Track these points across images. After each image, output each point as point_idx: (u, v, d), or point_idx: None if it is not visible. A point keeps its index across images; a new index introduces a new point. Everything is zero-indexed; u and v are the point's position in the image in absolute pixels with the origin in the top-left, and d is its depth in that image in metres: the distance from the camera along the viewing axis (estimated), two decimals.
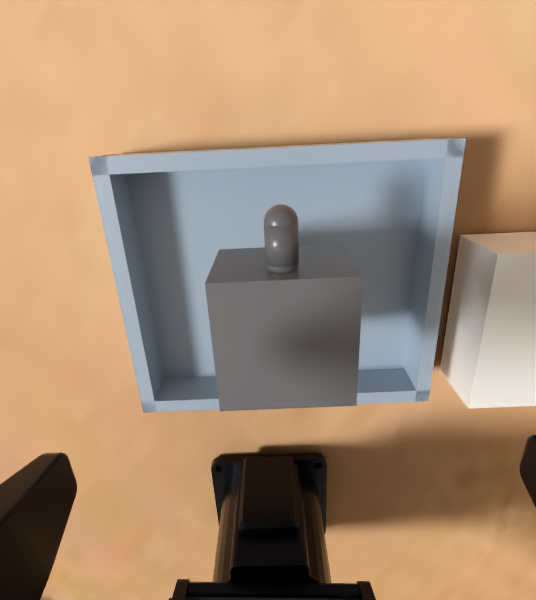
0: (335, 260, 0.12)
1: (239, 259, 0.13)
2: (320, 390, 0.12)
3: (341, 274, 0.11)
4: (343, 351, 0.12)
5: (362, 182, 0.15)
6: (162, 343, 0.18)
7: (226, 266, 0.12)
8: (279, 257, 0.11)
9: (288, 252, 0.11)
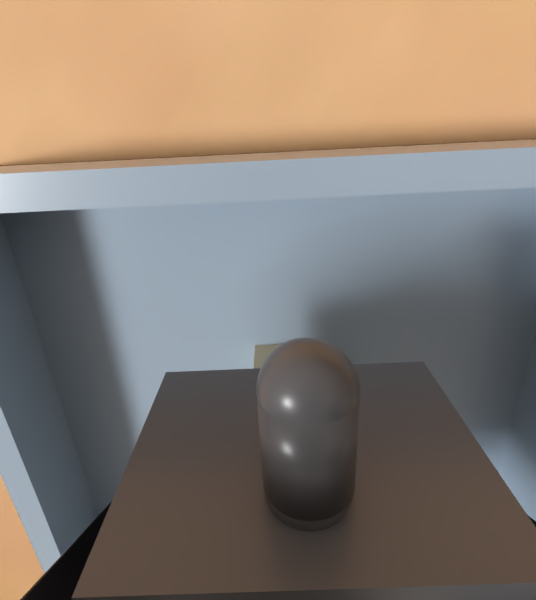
0: (439, 448, 0.05)
1: (201, 425, 0.05)
2: None
3: (490, 553, 0.04)
4: None
5: (448, 221, 0.08)
6: (93, 478, 0.11)
7: (163, 465, 0.05)
8: (303, 497, 0.04)
9: (331, 484, 0.04)
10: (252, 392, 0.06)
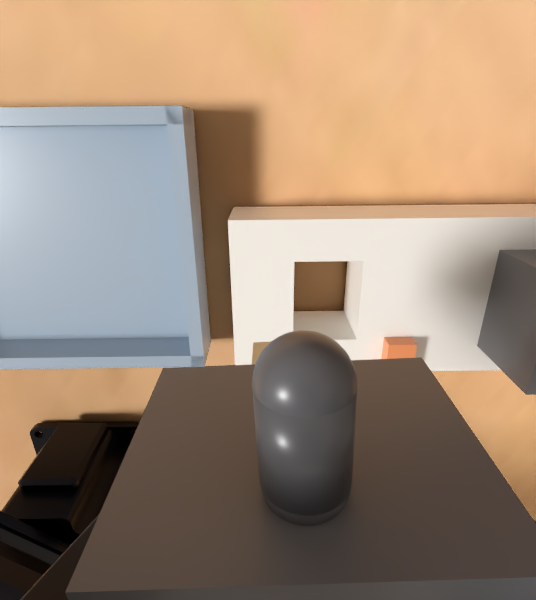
0: (437, 443, 0.05)
1: (198, 420, 0.05)
2: None
3: (487, 546, 0.04)
4: None
5: (120, 149, 0.16)
6: None
7: (159, 461, 0.05)
8: (300, 491, 0.04)
9: (327, 478, 0.04)
10: (249, 388, 0.06)
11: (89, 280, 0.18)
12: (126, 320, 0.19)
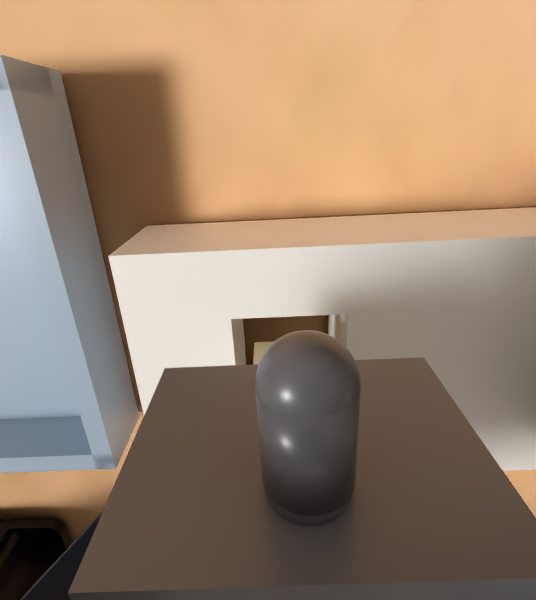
0: (440, 443, 0.05)
1: (200, 420, 0.05)
2: None
3: (491, 547, 0.04)
4: None
5: None
6: None
7: (161, 461, 0.05)
8: (303, 492, 0.04)
9: (330, 478, 0.04)
10: (251, 388, 0.06)
11: None
12: (7, 395, 0.13)
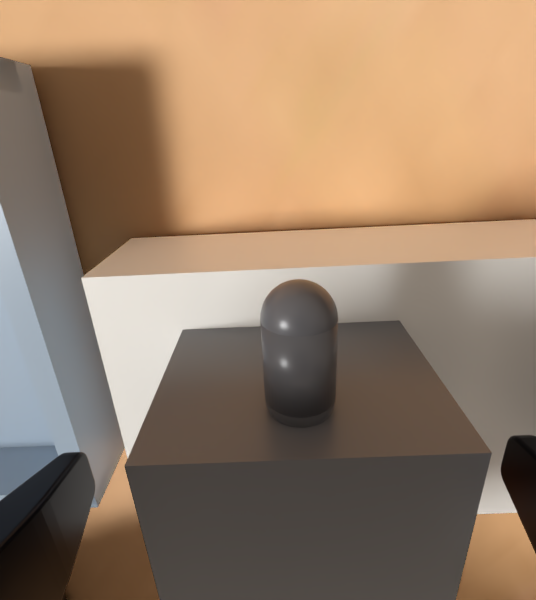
0: (405, 377, 0.06)
1: (214, 364, 0.07)
2: None
3: (434, 437, 0.05)
4: (427, 578, 0.06)
5: None
6: None
7: (186, 390, 0.06)
8: (295, 398, 0.05)
9: (315, 387, 0.05)
10: (255, 342, 0.07)
11: None
12: None
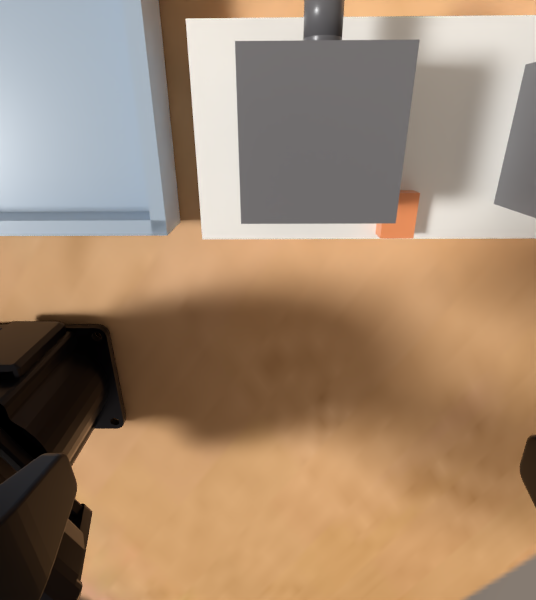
0: None
1: None
2: (356, 201, 0.11)
3: (392, 42, 0.09)
4: (387, 146, 0.10)
5: None
6: None
7: None
8: (321, 21, 0.09)
9: (332, 15, 0.09)
10: None
11: (33, 133, 0.16)
12: (79, 188, 0.16)
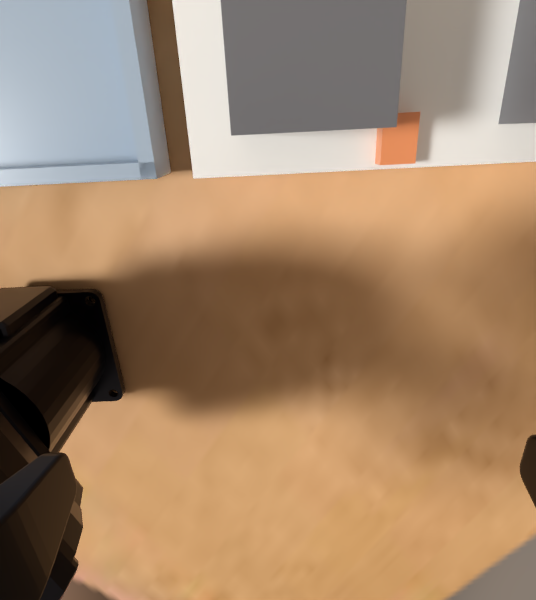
0: None
1: None
2: (353, 103, 0.10)
3: None
4: (384, 36, 0.09)
5: None
6: None
7: None
8: None
9: None
10: None
11: (13, 79, 0.15)
12: (64, 138, 0.16)
